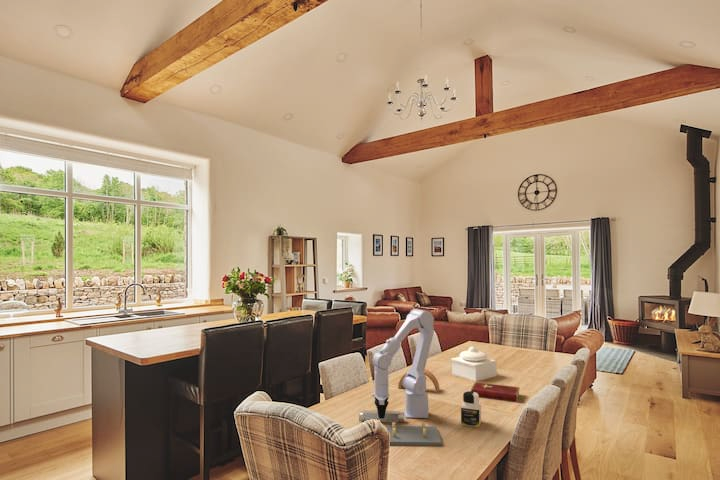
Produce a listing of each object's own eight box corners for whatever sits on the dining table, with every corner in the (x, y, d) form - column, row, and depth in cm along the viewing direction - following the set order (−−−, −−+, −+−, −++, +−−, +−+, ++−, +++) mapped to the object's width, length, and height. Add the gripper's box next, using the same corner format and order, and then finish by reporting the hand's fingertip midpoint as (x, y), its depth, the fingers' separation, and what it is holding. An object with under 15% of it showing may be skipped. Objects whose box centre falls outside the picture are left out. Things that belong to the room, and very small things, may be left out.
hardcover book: (517, 403, 193) (517, 394, 193) (470, 396, 202) (470, 388, 202) (519, 395, 204) (519, 386, 204) (475, 389, 213) (475, 381, 213)
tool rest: (436, 429, 163) (436, 419, 163) (441, 445, 149) (441, 434, 149) (379, 428, 164) (379, 418, 164) (379, 444, 150) (379, 433, 150)
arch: (401, 385, 219) (400, 366, 219) (439, 389, 212) (439, 369, 212) (398, 388, 213) (397, 368, 214) (437, 393, 206) (437, 372, 207)
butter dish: (496, 376, 235) (496, 347, 236) (475, 382, 225) (474, 351, 225) (472, 369, 249) (471, 342, 250) (450, 374, 239) (450, 346, 240)
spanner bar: (403, 419, 173) (403, 410, 173) (404, 422, 170) (404, 413, 170) (359, 418, 174) (359, 410, 174) (358, 421, 170) (358, 413, 171)
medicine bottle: (461, 425, 167) (460, 394, 168) (463, 418, 174) (463, 389, 174) (479, 427, 165) (479, 396, 165) (481, 420, 171) (480, 391, 172)
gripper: (371, 377, 180) (371, 409, 179) (371, 388, 165) (371, 423, 165) (388, 377, 179) (388, 410, 179) (389, 388, 165) (389, 423, 164)
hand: (381, 416), depth 172 cm, fingers closed on spanner bar, 3 cm apart
